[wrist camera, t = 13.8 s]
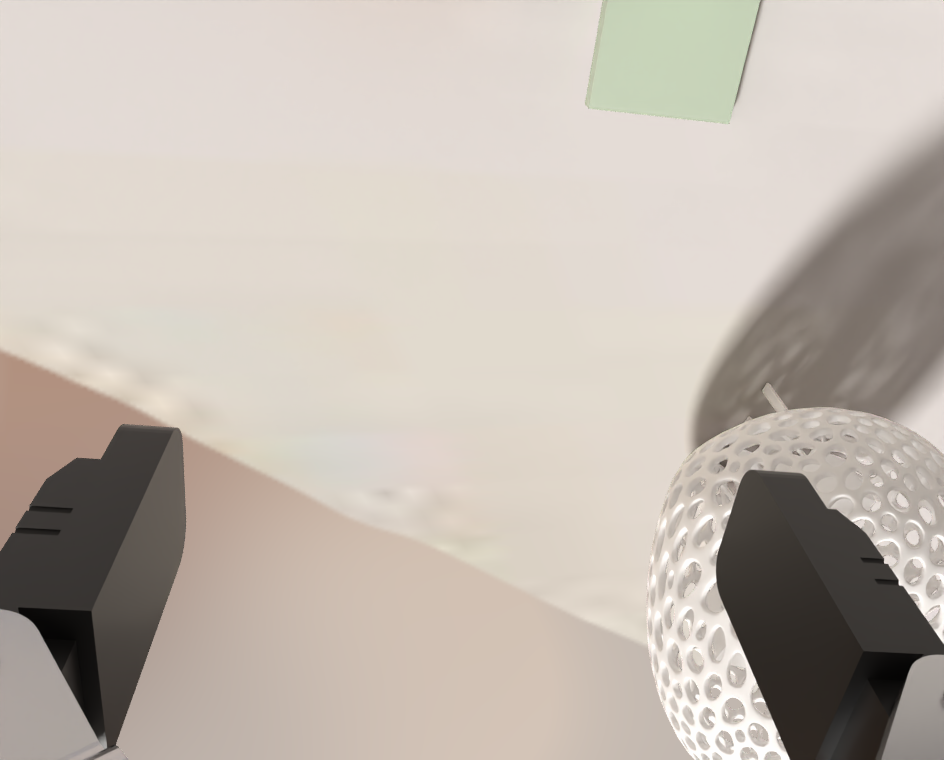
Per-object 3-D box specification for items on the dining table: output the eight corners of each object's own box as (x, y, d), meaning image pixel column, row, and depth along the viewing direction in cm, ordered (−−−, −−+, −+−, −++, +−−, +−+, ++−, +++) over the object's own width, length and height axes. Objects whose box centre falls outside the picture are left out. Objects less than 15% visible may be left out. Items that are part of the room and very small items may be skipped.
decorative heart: (720, 598, 54) (835, 866, 39) (566, 549, 52) (626, 815, 37) (897, 357, 47) (1123, 575, 32) (726, 285, 44) (884, 487, 29)
